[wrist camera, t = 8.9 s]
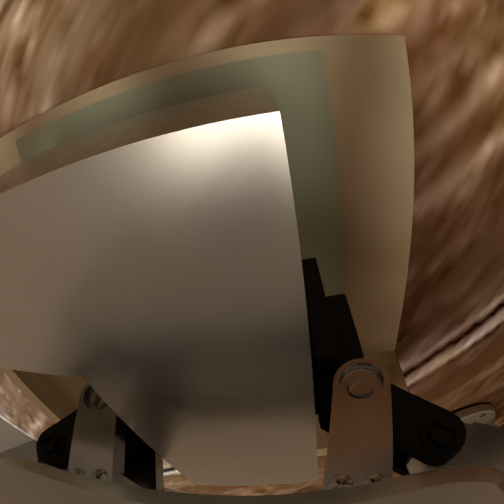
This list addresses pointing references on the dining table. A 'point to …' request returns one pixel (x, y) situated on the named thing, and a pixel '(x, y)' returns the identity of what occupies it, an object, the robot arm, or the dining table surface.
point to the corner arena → (300, 166)
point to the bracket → (170, 284)
